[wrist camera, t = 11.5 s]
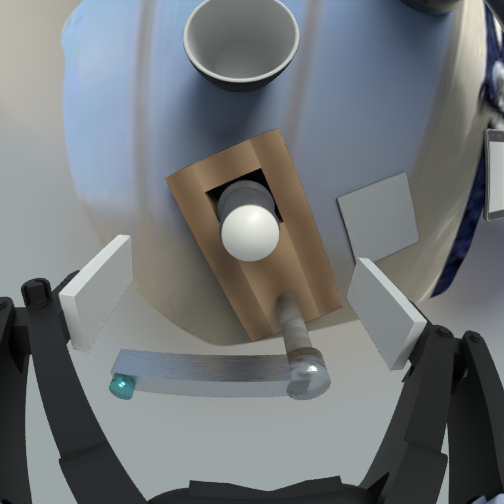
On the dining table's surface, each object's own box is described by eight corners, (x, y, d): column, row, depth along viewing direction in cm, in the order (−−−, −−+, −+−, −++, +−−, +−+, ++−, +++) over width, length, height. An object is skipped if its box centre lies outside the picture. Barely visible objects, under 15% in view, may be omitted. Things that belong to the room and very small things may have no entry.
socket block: (273, 129, 29) (298, 122, 16) (333, 291, 37) (370, 361, 24) (174, 173, 30) (129, 199, 17) (251, 322, 38) (256, 401, 26)
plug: (256, 167, 30) (270, 183, 18) (275, 209, 32) (300, 251, 20) (212, 188, 31) (197, 218, 19) (233, 229, 33) (233, 281, 21)
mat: (404, 171, 31) (405, 172, 30) (417, 239, 34) (418, 241, 34) (336, 197, 32) (337, 198, 31) (356, 267, 36) (357, 269, 35)
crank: (325, 345, 22) (338, 381, 19) (318, 373, 24) (328, 408, 20) (118, 341, 22) (102, 375, 18) (128, 370, 23) (116, 403, 19)
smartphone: (509, 131, 27) (509, 216, 33) (505, 130, 28) (505, 214, 34) (486, 128, 27) (486, 222, 33) (481, 128, 28) (482, 220, 34)
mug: (290, 91, 27) (313, 71, 18) (210, 109, 27) (196, 96, 18) (263, 4, 22) (272, -40, 13) (186, 21, 23) (166, -19, 14)
